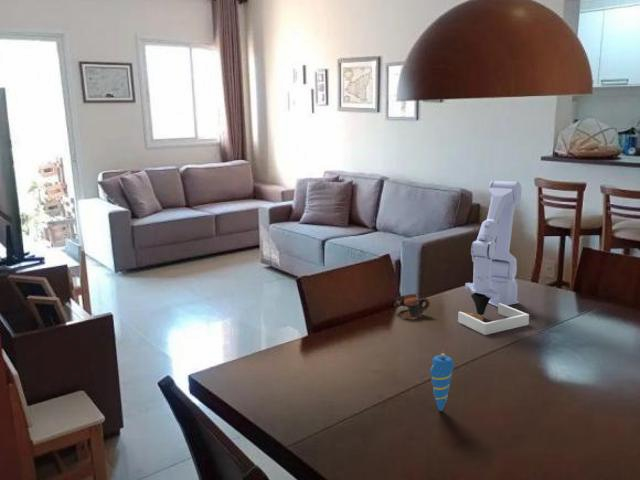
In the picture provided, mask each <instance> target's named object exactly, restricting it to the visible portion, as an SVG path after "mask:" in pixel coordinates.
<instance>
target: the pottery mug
mask: <svg viewBox="0 0 640 480" xmlns="http://www.w3.org/2000/svg"><path fill="white" fill-rule="evenodd" d="M424 303H425V305H424V306H423V304H424ZM430 304H431V303H430V300H429V299H428V298H427V297H421V298H418V297H417V294H416V293H411V294H410V293H409V294H405V295H400V296H397V297H395V303H394V308H396V307H397V306H398V307H406V308H407V309H408V311H404V312H403V316H404V318H405V319H411V318H421V315H422V314H423V313H424V311H426V310H428V308H429V307H430Z"/></svg>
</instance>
